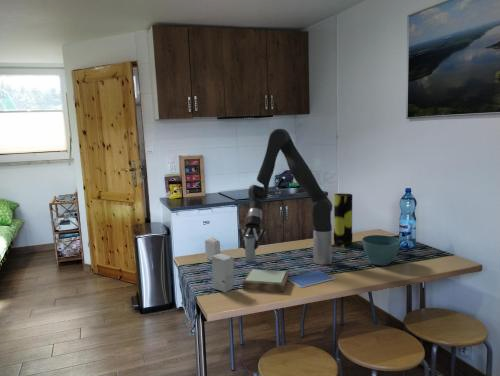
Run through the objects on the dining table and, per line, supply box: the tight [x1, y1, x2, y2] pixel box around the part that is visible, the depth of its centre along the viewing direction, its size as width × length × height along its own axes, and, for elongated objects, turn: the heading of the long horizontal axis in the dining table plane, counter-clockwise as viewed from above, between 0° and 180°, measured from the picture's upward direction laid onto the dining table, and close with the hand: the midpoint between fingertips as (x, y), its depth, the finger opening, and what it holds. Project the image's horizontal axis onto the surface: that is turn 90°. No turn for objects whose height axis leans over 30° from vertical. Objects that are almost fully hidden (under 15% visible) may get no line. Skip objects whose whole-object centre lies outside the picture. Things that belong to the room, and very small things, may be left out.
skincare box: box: [211, 253, 234, 293], centre depth 180 cm, size 8×6×15 cm
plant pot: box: [361, 234, 401, 266], centre depth 207 cm, size 18×18×12 cm
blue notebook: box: [288, 270, 336, 289], centre depth 189 cm, size 19×13×1 cm, turn 118°
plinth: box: [242, 268, 290, 293], centre depth 184 cm, size 18×16×4 cm
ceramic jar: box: [244, 233, 257, 261], centre depth 200 cm, size 5×5×12 cm
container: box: [333, 192, 353, 248], centre depth 239 cm, size 11×11×30 cm
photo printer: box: [204, 236, 221, 262], centre depth 220 cm, size 10×4×12 cm, turn 39°
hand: (249, 248), depth 199 cm, fingers closed on ceramic jar, 5 cm apart
